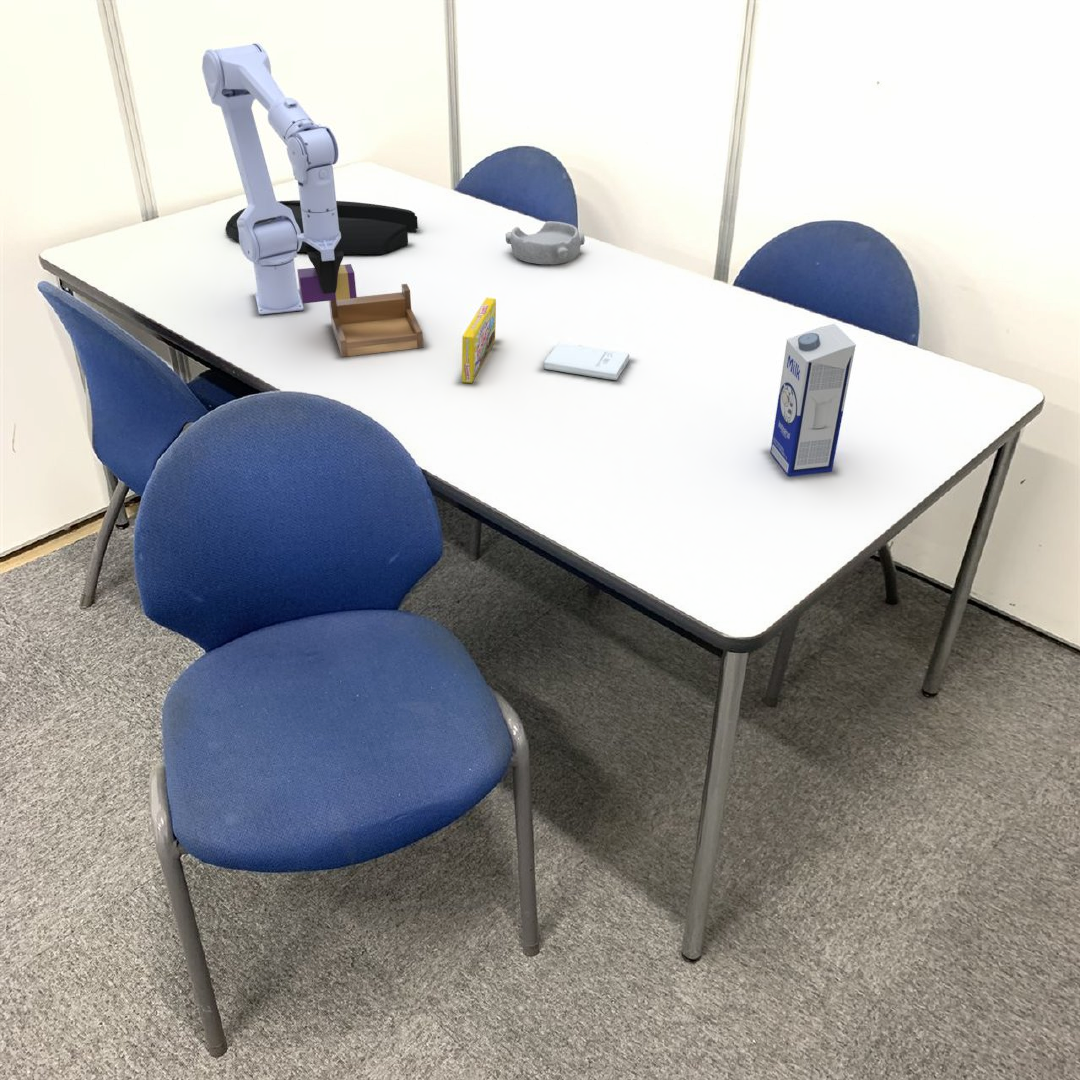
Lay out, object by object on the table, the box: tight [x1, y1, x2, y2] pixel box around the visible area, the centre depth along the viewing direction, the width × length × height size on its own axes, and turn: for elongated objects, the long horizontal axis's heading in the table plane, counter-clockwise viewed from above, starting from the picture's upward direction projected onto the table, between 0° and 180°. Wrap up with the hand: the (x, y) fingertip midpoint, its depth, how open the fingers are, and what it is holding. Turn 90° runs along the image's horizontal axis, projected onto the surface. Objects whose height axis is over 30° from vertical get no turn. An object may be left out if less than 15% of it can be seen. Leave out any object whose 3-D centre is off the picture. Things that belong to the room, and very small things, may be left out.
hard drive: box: [543, 342, 630, 381], centre depth 184 cm, size 2×8×12 cm
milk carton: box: [770, 323, 857, 477], centre depth 153 cm, size 7×7×20 cm
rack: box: [328, 283, 424, 358], centre depth 191 cm, size 13×14×6 cm
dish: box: [505, 220, 586, 265], centre depth 224 cm, size 14×14×5 cm
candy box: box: [461, 297, 497, 384], centre depth 183 cm, size 16×2×8 cm, turn 169°
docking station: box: [224, 199, 419, 255], centre depth 233 cm, size 25×41×5 cm, turn 82°
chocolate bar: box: [296, 263, 358, 304], centre depth 185 cm, size 4×9×5 cm, turn 106°
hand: (327, 287), depth 185 cm, fingers closed on chocolate bar, 4 cm apart
